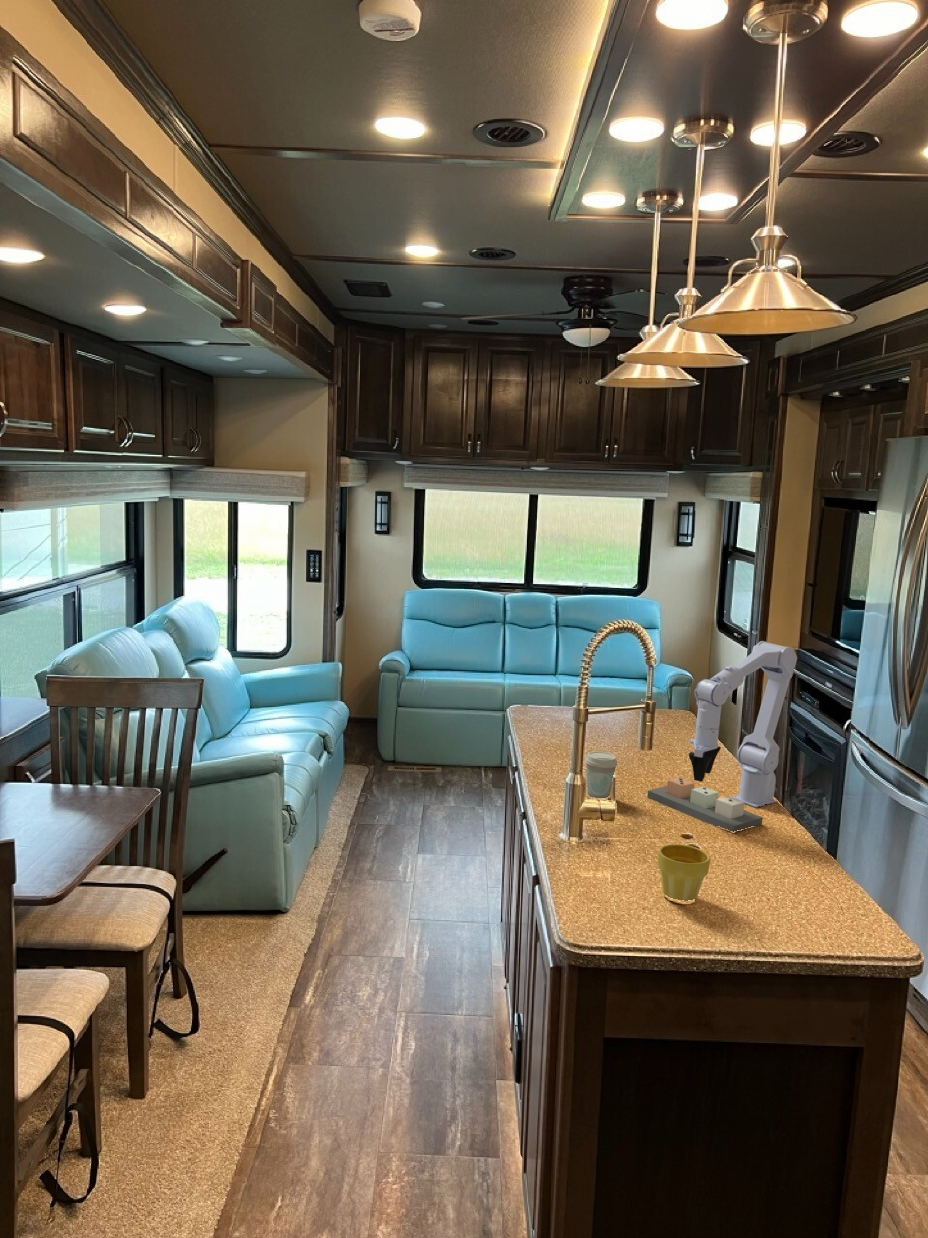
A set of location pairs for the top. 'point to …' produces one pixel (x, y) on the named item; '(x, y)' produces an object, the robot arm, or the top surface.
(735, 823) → the keypad board
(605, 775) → the coffee cup
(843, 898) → the top surface
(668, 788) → the key three
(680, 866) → the plant pot
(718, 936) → the top surface
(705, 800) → the key two
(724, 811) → the key one
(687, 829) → the top surface
